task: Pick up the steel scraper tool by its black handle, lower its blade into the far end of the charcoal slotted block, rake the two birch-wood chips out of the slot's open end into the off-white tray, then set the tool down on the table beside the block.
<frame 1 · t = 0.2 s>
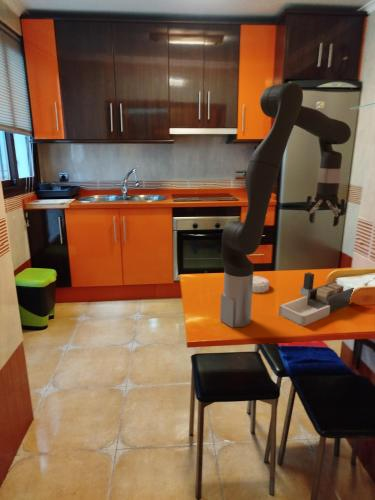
hand: (323, 224, 131), 27 cm above the table, fingers open, 8 cm apart
tray: (303, 315, 119), on the table
scraper tool: (307, 295, 135), on the table
chip 2: (334, 295, 127), point 3 cm above the table, touching slot block
chip 1: (324, 299, 124), point 3 cm above the table, touching slot block
mooncake: (253, 288, 144), on the table
slot block: (330, 304, 127), on the table
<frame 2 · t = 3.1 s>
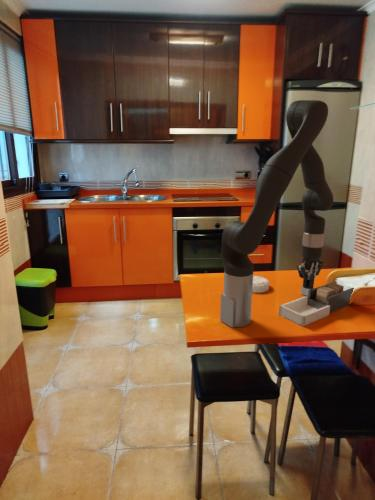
hand: (308, 287, 134), 4 cm above the table, fingers closed on scraper tool, 2 cm apart
scraper tool: (308, 294, 135), on the table, touching gripper
everything else where it was.
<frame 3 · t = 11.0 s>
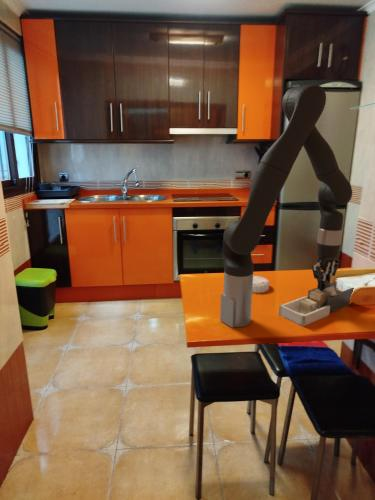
hand: (323, 288, 122), 7 cm above the table, fingers closed on scraper tool, 2 cm apart
scraper tool: (328, 296, 121), point 5 cm above the table, tilted 31°, touching gripper, slot block
chip 2: (317, 302, 122), point 3 cm above the table
chip 1: (311, 305, 120), point 2 cm above the table, tilted 90°, touching tray
everything else where it was.
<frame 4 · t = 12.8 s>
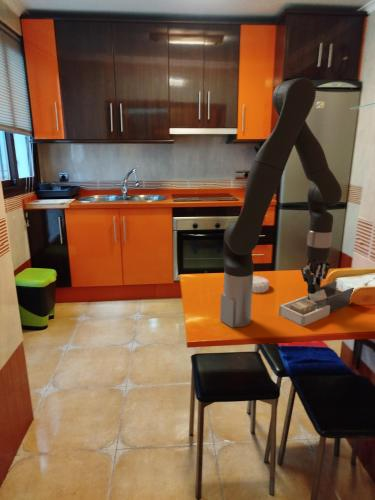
hand: (313, 292, 119), 8 cm above the table, fingers closed on scraper tool, 2 cm apart
scraper tool: (319, 300, 118), point 5 cm above the table, tilted 32°, touching chip 2, gripper
chip 2: (306, 313, 119), point 1 cm above the table, touching chip 1, scraper tool
chip 1: (302, 309, 118), point 3 cm above the table, tilted 90°, touching chip 2, tray
everything else where it was.
when the fingers open (5 cm above the table, at t = 19.0 s): scraper tool drops 3 cm, on the table.
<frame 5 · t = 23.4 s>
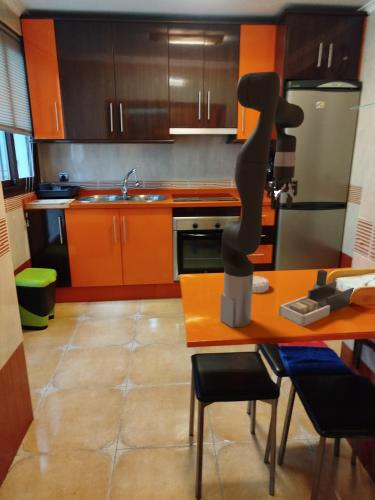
hand: (281, 208, 133), 33 cm above the table, fingers open, 8 cm apart
scraper tool: (320, 292, 138), on the table
chip 2: (308, 312, 120), resting on tray
chip 1: (302, 309, 118), point 2 cm above the table, tilted 90°, touching tray
everything else where it was.
at the end: chip 1 inside the target area (1.2 cm from its centre), point 2.5 cm above the table; chip 2 inside the target area (2.0 cm from its centre), point 0.5 cm above the table; scraper tool inside the target area (3.9 cm from its centre), on the table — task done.
